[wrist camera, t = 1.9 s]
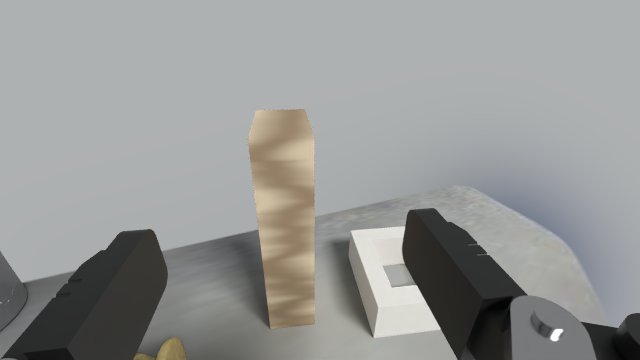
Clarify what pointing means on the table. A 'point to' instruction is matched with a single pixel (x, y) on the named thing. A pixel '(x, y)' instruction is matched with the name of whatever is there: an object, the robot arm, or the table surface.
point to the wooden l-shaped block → (285, 212)
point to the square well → (386, 284)
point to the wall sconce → (167, 351)
